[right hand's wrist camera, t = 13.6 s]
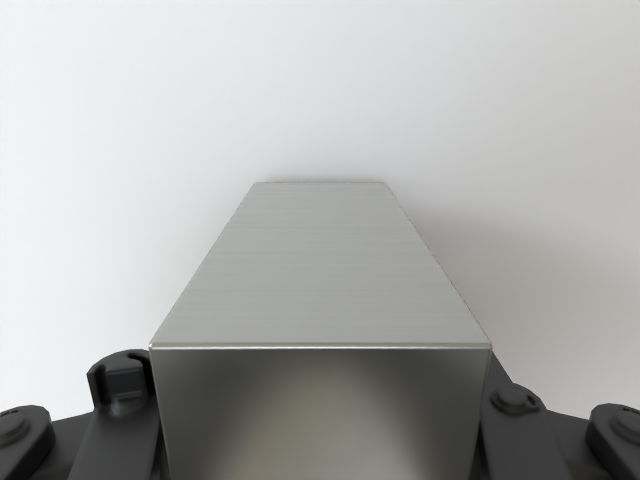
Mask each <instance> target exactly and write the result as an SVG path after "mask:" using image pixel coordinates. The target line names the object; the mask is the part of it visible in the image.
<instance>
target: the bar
mask: <svg viewBox="0 0 640 480" xmlns="http://www.w3.org/2000/svg"><path fill="white" fill-rule="evenodd" d="M149 354H150V360H151V366H152V371H153V377H154V383H155V389H156V395H157V400H158V406H159V412H160V418H161V424H162V429H163V435H164V441H165V447H166V453H167V458H168V464H169V470H170V476H171V480H470V475H471V469H472V463H473V458H474V452H475V446H476V440H477V434H478V429H479V423H480V417H481V411H482V406H483V400H484V394H485V388H486V383H487V377H488V371H489V365H490V360H491V354H492V343H491V341H490V340H489V338H488V337H487V335H486V334H485V332H484V331H483V329H482V328H481V326H480V325H479V323H478V322H477V320H476V319H475V317H474V316H473V314H472V313H471V311H470V310H469V308H468V307H467V305H466V304H465V302H464V301H463V299H462V298H461V296H460V295H459V293H458V292H457V290H456V289H455V287H454V286H453V284H452V282H451V281H450V279H449V278H448V276H447V275H446V273H445V272H444V270H443V269H442V267H441V266H440V264H439V263H438V261H437V260H436V258H435V257H434V255H433V254H432V252H431V251H430V249H429V248H428V246H427V245H426V243H425V242H424V240H423V239H422V237H421V236H420V234H419V233H418V231H417V230H416V228H415V227H414V225H413V224H412V222H411V221H410V219H409V218H408V216H407V215H406V213H405V212H404V210H403V209H402V207H401V206H400V204H399V203H398V201H397V200H396V198H395V197H394V195H393V194H392V192H391V191H390V189H389V188H388V186H387V185H386V183H254V185H253V186H252V188H251V189H250V191H249V192H248V194H247V195H246V197H245V198H244V200H243V201H242V203H241V204H240V206H239V207H238V209H237V210H236V212H235V213H234V215H233V216H232V218H231V220H230V221H229V223H228V224H227V226H226V227H225V229H224V230H223V232H222V233H221V235H220V236H219V238H218V239H217V241H216V242H215V244H214V245H213V247H212V248H211V250H210V252H209V253H208V255H207V256H206V258H205V259H204V261H203V262H202V264H201V265H200V267H199V268H198V270H197V271H196V273H195V274H194V276H193V277H192V279H191V280H190V282H189V283H188V285H187V287H186V288H185V290H184V291H183V293H182V294H181V296H180V297H179V299H178V300H177V302H176V303H175V305H174V306H173V308H172V309H171V311H170V312H169V314H168V315H167V317H166V318H165V320H164V322H163V323H162V325H161V326H160V328H159V329H158V331H157V332H156V334H155V335H154V337H153V338H152V340H151V341H150V343H149Z"/></svg>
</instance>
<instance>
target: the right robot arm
mask: <svg viewBox="0 0 640 480" xmlns="http://www.w3.org/2000/svg"><path fill="white" fill-rule="evenodd" d="M87 379H88V383H89V387H90V391H91V395H92V399H93V403H94V410H93V412H90V413H86V414H83V415H79V416H75V417H70V418H66V419H61V420H57V421H53V422H52V421H51V417H50V414H49V412H48V411H47V410H46V409H45V408H44V407H41V406H35V405H28V406H19V407H16V408H13V409H9V410H6V411H3V412H1V413H0V480H171V476H170V470H169V464H168V458H167V453H166V447H165V441H164V435H163V429H162V424H161V418H160V412H159V406H158V400H157V395H156V389H155V383H154V377H153V371H152V366H151V360H150V354H149V351H146V350H143V349H129V350H125V351H121V352H116V353H114V354H111V355H109V356H107V357H104V358H103V359H101V360H100V361H98V362H97V363H96V364H94V365H93V366H92V367H91V368H90V370H89V371H88V372H87ZM470 480H640V411H639V410H637V409H634V408H630V407H627V406H624V405H619V404H610V403H608V404H602V405H598V406H596V407H595V408H594V409H593V410H592V412H591V415H590V418H589V420H586V419H582V418H578V417H573V416H569V415H564V414H560V413H556V412H553V411H550V410H547V409H546V407H545V406H544V404H543V402H542V401H541V399H540V398H539V397H538V396H536V395H535V394H534V393H533V392H531V391H530V390H528V389H526V388H524V387H522V386H520V385H518V384H515V383H513V382H512V381H511V379H510V378H509V376H508V375H507V373H506V372H505V370H504V369H503V367H502V365H501V364H500V362H499V361H498V359H497V358H496V356H495V355H494V353H493V351H492V354H491V360H490V365H489V371H488V377H487V383H486V388H485V394H484V400H483V406H482V411H481V417H480V423H479V429H478V434H477V440H476V446H475V452H474V458H473V463H472V469H471V475H470Z"/></svg>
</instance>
